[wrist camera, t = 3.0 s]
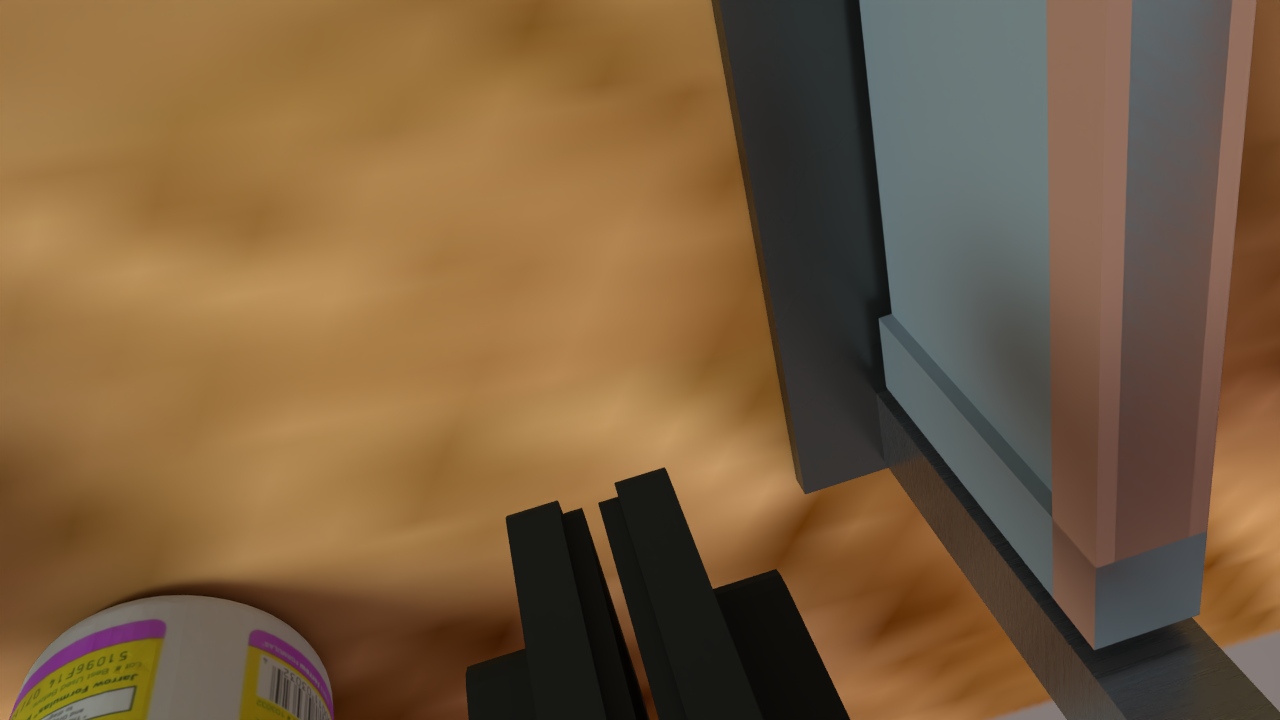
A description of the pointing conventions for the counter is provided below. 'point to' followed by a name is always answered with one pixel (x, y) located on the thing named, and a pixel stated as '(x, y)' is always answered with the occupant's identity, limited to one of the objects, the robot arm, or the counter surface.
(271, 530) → the counter surface
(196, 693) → the supplement bottle
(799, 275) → the gate frame
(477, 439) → the counter surface
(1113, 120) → the gate
